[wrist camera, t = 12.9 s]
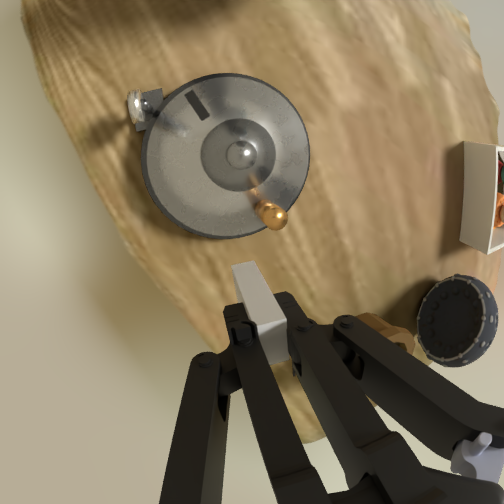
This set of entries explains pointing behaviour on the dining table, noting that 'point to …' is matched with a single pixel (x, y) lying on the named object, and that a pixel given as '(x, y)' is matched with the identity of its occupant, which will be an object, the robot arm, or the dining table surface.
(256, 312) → the robot arm
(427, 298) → the dark decorated bowl
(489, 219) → the parts crate
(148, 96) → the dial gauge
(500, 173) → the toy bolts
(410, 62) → the dining table surface
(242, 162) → the cover
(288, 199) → the turntable
